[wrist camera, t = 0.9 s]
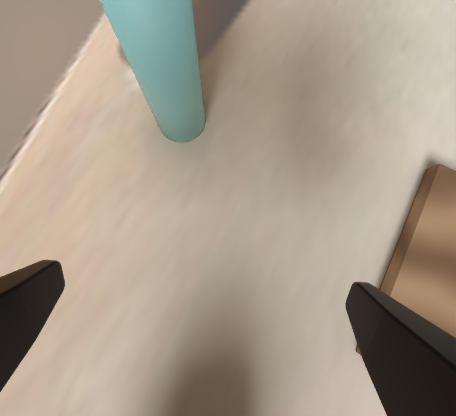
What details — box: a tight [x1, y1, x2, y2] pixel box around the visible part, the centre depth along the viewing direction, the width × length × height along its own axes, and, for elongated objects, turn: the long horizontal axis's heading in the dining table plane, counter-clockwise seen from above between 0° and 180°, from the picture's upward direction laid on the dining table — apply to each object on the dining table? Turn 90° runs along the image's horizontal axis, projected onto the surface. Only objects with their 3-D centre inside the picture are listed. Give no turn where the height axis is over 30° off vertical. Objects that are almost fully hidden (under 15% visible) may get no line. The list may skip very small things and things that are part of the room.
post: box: [100, 0, 205, 142], centre depth 17 cm, size 4×4×13 cm
